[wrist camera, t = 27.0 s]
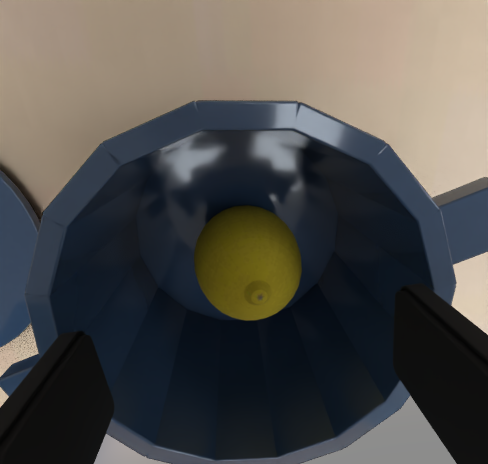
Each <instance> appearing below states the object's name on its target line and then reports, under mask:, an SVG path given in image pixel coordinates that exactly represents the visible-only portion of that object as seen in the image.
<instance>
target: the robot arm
mask: <svg viewBox="0 0 488 464" xmlns="http://www.w3.org/2000/svg"><path fill="white" fill-rule="evenodd" d="M393 367H394V370H395V373H396V375H397V376H398V378H399V379H400V381H401V382H402V384H403V385H404V387H405V388H406V390H407V391H408V392H409V394H410V395H411V397H412V398H413V400H414V401H415V403H416V404H417V406H418V407H419V409H420V410H421V412H422V413H423V415H424V416H425V418H426V419H427V420H428V422H429V423H430V425H431V426H432V428H433V429H434V431H435V432H436V434H437V435H438V436H439V438H440V440H441V441H442V443H443V444H444V446H445V447H446V448H447V450H448V451H449V453H450V454H451V456H452V457H453V459H454V460H455V462H456V463H457V464H488V335H487V334H486V333H484V332H483V331H482V330H481V329H479V328H478V327H477V326H476V325H474V324H473V323H472V322H471V321H469V320H468V319H467V318H466V317H464V316H463V315H462V314H461V313H460V312H458V311H457V310H456V309H455V308H453V307H452V306H451V305H450V304H448V303H447V302H446V301H445V300H443V299H442V298H441V297H440V296H438V295H437V294H436V293H435V292H433V291H432V290H431V289H430V288H428V287H427V286H426V285H424V284H423V283H419V284H412V285H405V286H402V287H401V288H400V291H397V292H396V293H395V307H394V338H393ZM114 407H115V406H114V400H113V397H112V394H111V391H110V389H109V386H108V383H107V380H106V377H105V374H104V371H103V369H102V366H101V363H100V360H99V357H98V354H97V351H96V348H95V346H94V343H93V340H92V338H91V336H90V335H86V334H85V332H84V331H76V332H68V333H63V334H61V335H59V336H58V338H57V339H56V340H55V341H54V342H53V344H52V345H51V346H50V347H49V349H48V350H47V351H46V352H45V353H44V355H43V356H42V357H41V358H40V360H39V361H38V362H37V363H36V365H35V366H34V367H33V368H32V369H31V371H30V372H29V373H28V374H27V376H26V377H25V378H24V379H23V381H22V382H21V383H20V384H19V385H18V387H17V388H16V389H15V390H14V392H13V393H12V394H11V395H10V396H9V398H8V399H7V400H6V401H5V403H4V404H3V405H2V406H1V408H0V464H94V462H95V459H96V456H97V454H98V452H99V449H100V447H101V444H102V442H103V439H104V437H105V434H106V432H107V429H108V427H109V424H110V422H111V419H112V417H113V414H114Z"/></svg>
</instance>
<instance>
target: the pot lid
mask: <svg viewBox="0 0 488 464" xmlns="http://www.w3.org/2000/svg"><path fill="white" fill-rule="evenodd" d="M39 227H40V221H39V219H38V217H37V215H36V214H35V212H34V210H33V208H32V207H31V205H30V203H29V202H28V200H27V199H26V198H25V196H24V195H23V194H22V192H21V191H20V190H19V188H18V187H17V186H16V185H15V184H14V183H13V182H12V181H11V180H10V179H9V177H8V176H7V175H6V174H5V173H4V172H3V171H1V170H0V347H2V346H4V345H6V344H7V343H9V342H10V341H12V340H13V339H15V338H16V337H18V336H19V335H20V334H21V333H22V332H23V331H24V330H25V329H26V328H27V327H28V326H29V325H30V324H31V321H30V317H29V313H28V309H27V305H26V301H25V297H24V294H25V289H26V284H27V280H28V276H29V271H30V267H31V262H32V258H33V254H34V249H35V245H36V241H37V236H38V232H39Z"/></svg>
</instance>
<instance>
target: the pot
mask: <svg viewBox="0 0 488 464" xmlns="http://www.w3.org/2000/svg"><path fill="white" fill-rule="evenodd" d="M244 205H249V206H256V207H261V208H263V209H265V210H267V211H270V212H272V213H274V214H275V215H276V216H277V217H279V218H280V219H281V220H282V221H283V222H284V223H285V224H286V225H287V226H288V228H289V229H290V231H291V232H292V233H293V235H294V236H295V239H296V242H297V244H298V247H299V250H300V254H301V266H302V273H301V278H300V282H299V286H298V288H297V290H296V292H295V295H294V296H293V298H292V299H291V300H290V301H289V303H288V304H287V305H286V306H285V307H284V308H283V309H281V310H280V311H279V312H277V313H276V314H274V315H272V316H269V317H267V318H264V319H259V320H241V319H236V318H232V317H230V316H228V315H226V314H224V313H222V312H221V311H219V310H218V309H217V308H216V307H215V306H213V305H212V304H211V303H210V301H209V300H208V299H207V297H206V296H205V294H204V293H203V291H202V290H201V288H200V285H199V282H198V279H197V276H196V273H195V264H194V252H195V248H196V243H197V239H198V237H199V235H200V233H201V232H202V230H203V228H204V226H205V225H206V224H207V223H208V222H209V221H210V220H211V219H212V218H213V217H214V216H215V215H217V214H218V213H220V212H221V211H223V210H226V209H228V208H231V207H234V206H244ZM485 252H488V177H484V178H481V179H478V180H476V181H473V182H471V183H468V184H466V185H463V186H461V187H458V188H456V189H453V190H451V191H448V192H446V193H443V194H441V195H438V196H436V197H433V198H431V197H430V195H429V194H428V193H427V192H426V190H425V189H424V188H423V187H422V185H421V184H420V183H419V182H418V180H417V179H416V178H415V177H414V175H413V174H412V173H411V172H410V170H409V169H408V168H407V167H406V165H405V164H404V163H403V162H402V160H401V159H400V158H399V157H398V155H397V154H396V153H395V152H394V150H393V149H392V148H391V147H390V145H389V144H387V143H385V141H384V140H381V139H379V138H377V137H375V136H373V135H371V134H369V133H367V132H364V131H362V130H360V129H358V128H356V127H354V126H352V125H349V124H347V123H345V122H343V121H341V120H339V119H337V118H334V117H332V116H330V115H328V114H326V113H324V112H322V111H319V110H317V109H315V108H313V107H311V106H309V105H307V104H305V103H302V102H299V103H298V102H297V101H224V100H198V101H196V102H195V101H192V102H190V103H188V104H186V105H183V106H181V107H179V108H177V109H175V110H172V111H170V112H168V113H166V114H163V115H161V116H159V117H157V118H155V119H152V120H150V121H148V122H146V123H143V124H141V125H139V126H137V127H135V128H132V129H130V130H128V131H126V132H123V133H121V134H119V135H117V136H115V137H112V138H110V139H108V140H106V141H103V143H101V144H100V145H99V146H98V147H97V148H96V150H95V151H94V152H93V153H92V154H91V156H90V157H89V158H88V159H87V160H86V162H85V163H84V164H83V165H82V166H81V168H80V169H79V170H78V171H77V172H76V173H75V175H74V176H73V177H72V178H71V179H70V181H69V182H68V183H67V184H66V185H65V187H64V188H63V189H62V190H61V191H60V193H59V194H58V195H57V196H56V197H55V198H54V200H53V201H52V202H51V203H50V204H49V206H48V207H47V208H46V209H45V210H44V212H43V216H42V219H41V223H40V227H39V232H38V236H37V241H36V245H35V249H34V254H33V258H32V262H31V267H30V271H29V276H28V280H27V284H26V289H25V294H24V297H25V301H26V305H27V309H28V313H29V317H30V321H31V325H32V329H33V333H34V337H35V341H36V345H37V349H38V353H39V354H37V355H34V356H32V357H29V358H27V359H24V360H22V361H19V362H17V363H14V364H12V365H11V366H10V367H9V368H8V369H7V370H6V372H5V373H4V374H3V375H2V376H1V377H0V387H1V388H2V389H3V391H4V392H5V393H6V394H7V395H8V396H10V395H11V394H12V393H13V392H14V390H15V389H16V388H17V387H18V385H19V384H20V383H21V382H22V381H23V379H24V378H25V377H26V376H27V374H28V373H29V372H30V371H31V369H32V368H33V367H34V366H35V365H36V363H37V362H38V361H39V360H40V358H41V357H42V356H43V355H44V353H45V352H46V351H47V350H48V349H49V347H50V346H51V345H52V344H53V342H54V341H55V340H56V339H57V338H58V336H59V335H61V334H63V333H68V332H76V331H84V332H85V334H86V335H90V336H91V338H92V340H93V343H94V346H95V348H96V351H97V354H98V357H99V360H100V363H101V366H102V369H103V371H104V374H105V377H106V380H107V383H108V386H109V389H110V391H111V394H112V397H113V400H114V406H115V407H114V414H113V417H112V419H111V422H110V424H109V427H108V429H107V432H106V434H108V435H110V436H111V437H113V438H114V439H116V440H118V441H119V442H121V443H123V444H124V445H126V446H127V447H129V448H131V449H132V450H134V451H136V452H137V453H139V454H141V455H142V456H146V457H147V458H149V459H154V460H158V461H162V462H166V463H171V464H300V463H303V462H306V461H309V460H312V459H315V458H318V457H321V456H324V455H327V454H330V453H333V452H336V451H338V450H342V449H343V448H346V447H347V446H349V445H350V444H352V443H353V442H354V441H356V440H357V439H359V438H360V437H361V436H363V435H364V434H366V433H367V432H368V431H370V430H371V429H373V428H374V427H376V426H377V425H378V424H380V423H381V422H383V421H384V420H385V419H387V418H388V417H389V416H391V415H392V414H394V413H395V412H397V411H398V410H399V409H401V407H402V406H403V405H404V403H405V402H406V400H407V399H408V398H409V396H410V394H409V392H408V391H407V390H406V388H405V387H404V385H403V384H402V382H401V381H400V379H399V378H398V376H397V375H396V373H395V370H394V367H393V338H394V307H395V293H396V292H397V291H400V288H401V287H402V286H405V285H412V284H419V283H423V284H424V285H426V286H427V287H428V288H430V289H431V290H432V291H433V292H435V293H436V294H437V295H438V296H440V297H441V298H442V299H443V300H445V301H446V302H447V303H448V304H450V305H452V300H453V296H454V292H455V288H456V278H455V273H454V269H453V264H456V263H459V262H461V261H464V260H467V259H469V258H472V257H475V256H477V255H480V254H483V253H485Z"/></svg>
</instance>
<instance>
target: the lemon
mask: <svg viewBox="0 0 488 464" xmlns="http://www.w3.org/2000/svg"><path fill="white" fill-rule="evenodd" d="M194 264H195V273H196V276H197V279H198V282H199V285H200V288H201V290H202V291H203V293H204V294H205V296H206V297H207V299H208V300H209V301H210V303H211V304H212V305H213V306H215V307H216V308H217V309H218V310H219V311H221V312H222V313H224V314H226V315H228V316H230V317H232V318H236V319H241V320H259V319H264V318H267V317H269V316H272V315H274V314H276V313H277V312H279V311H280V310H281V309H283V308H284V307H285V306H286V305H287V304H288V303H289V301H290V300H291V299H292V298H293V296H294V295H295V292H296V290H297V288H298V286H299V282H300V278H301V273H302V266H301V254H300V250H299V247H298V244H297V242H296V239H295V236H294V235H293V233H292V232H291V231H290V229H289V228H288V226H287V225H286V224H285V223H284V222H283V221H282V220H281V219H280V218H279V217H277V216H276V215H275V214H274V213H272V212H270V211H267V210H265V209H263V208H261V207H256V206H249V205H244V206H234V207H231V208H228V209H226V210H223V211H221V212H220V213H218V214H217V215H215V216H214V217H213V218H212V219H211V220H210V221H209V222H208V223H207V224H206V225H205V226H204V228H203V230H202V232H201V233H200V235H199V237H198V239H197V243H196V248H195V252H194Z"/></svg>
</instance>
